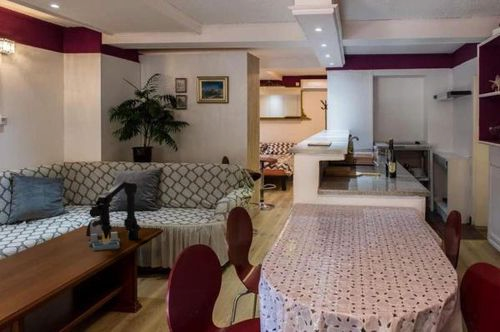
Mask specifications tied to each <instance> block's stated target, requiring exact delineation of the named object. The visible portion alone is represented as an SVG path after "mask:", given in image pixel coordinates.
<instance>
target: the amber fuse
mask: <svg viewBox="0 0 500 332" xmlns="http://www.w3.org/2000/svg"><path fill="white" fill-rule="evenodd" d="M109 239H110V234H109V235H108V237H107V239H105V236H104V233H102V236H101V240H102V241H103V245H106V244H109Z"/></svg>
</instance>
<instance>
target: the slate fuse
mask: <svg viewBox="0 0 500 332" xmlns="http://www.w3.org/2000/svg"><path fill="white" fill-rule="evenodd" d="M98 240H99V239H98V236H97V234H91V237H90V241H91V243H94V242H98Z"/></svg>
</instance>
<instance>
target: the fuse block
mask: <svg viewBox="0 0 500 332" xmlns="http://www.w3.org/2000/svg"><path fill="white" fill-rule="evenodd" d="M111 241H112V240H111V238H109V242H111ZM114 241H118V243H119V245H121V239H120V238H119V237H118V240H114ZM101 242H103V241H102V239H98V242H94V243H101ZM87 243H88V246H89V247H90V248H91V247H93V243H91V240H89V241H88V242H87Z"/></svg>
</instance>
